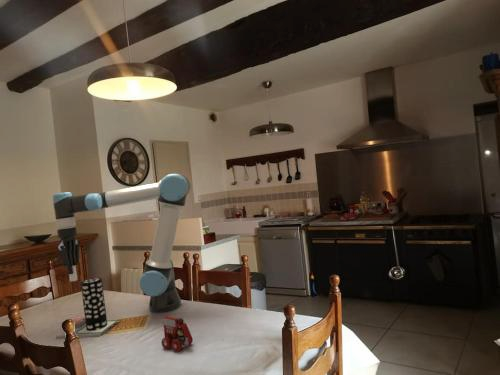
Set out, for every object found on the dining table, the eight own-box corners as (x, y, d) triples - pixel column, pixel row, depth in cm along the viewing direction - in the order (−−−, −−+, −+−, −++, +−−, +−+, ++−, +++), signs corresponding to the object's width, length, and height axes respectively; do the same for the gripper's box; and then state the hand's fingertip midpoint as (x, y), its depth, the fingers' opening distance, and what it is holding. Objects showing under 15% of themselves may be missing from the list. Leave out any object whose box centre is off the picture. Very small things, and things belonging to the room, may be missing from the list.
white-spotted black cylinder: (87, 332, 151) (81, 284, 151) (85, 326, 158) (80, 280, 158) (108, 326, 155) (102, 280, 155) (106, 321, 162) (100, 276, 162)
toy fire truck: (183, 354, 124) (180, 323, 124) (158, 348, 131) (155, 319, 131) (197, 345, 130) (194, 316, 130) (173, 340, 137) (169, 312, 137)
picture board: (120, 321, 163) (119, 315, 163) (100, 336, 148) (100, 329, 148) (78, 323, 166) (78, 317, 166) (56, 338, 152) (55, 331, 152)
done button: (85, 322, 163) (84, 317, 163) (79, 326, 159) (78, 320, 159) (77, 322, 164) (76, 317, 164) (71, 326, 160) (70, 321, 160)
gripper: (68, 226, 168) (75, 277, 168) (48, 230, 155) (56, 285, 155) (83, 224, 167) (90, 275, 167) (64, 229, 154) (71, 284, 154)
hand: (73, 280), depth 161 cm, fingers closed
